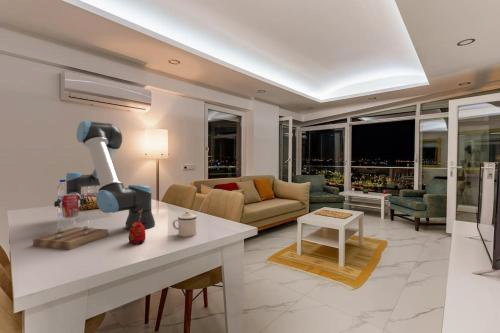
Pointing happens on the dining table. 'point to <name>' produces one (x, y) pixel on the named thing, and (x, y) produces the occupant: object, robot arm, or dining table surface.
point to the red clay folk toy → (137, 232)
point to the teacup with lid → (186, 224)
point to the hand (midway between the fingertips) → (69, 205)
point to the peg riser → (70, 237)
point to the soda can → (70, 205)
